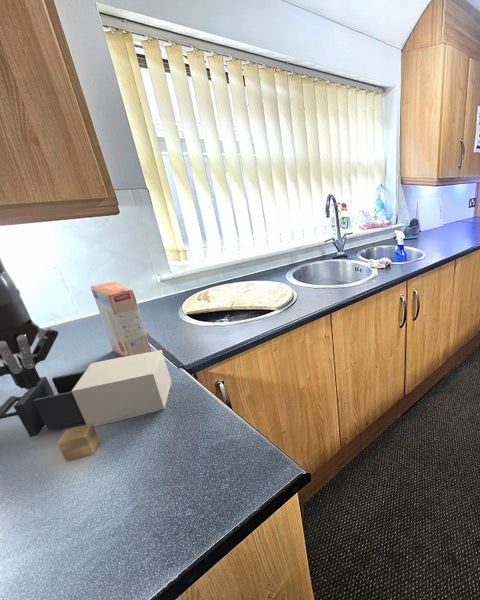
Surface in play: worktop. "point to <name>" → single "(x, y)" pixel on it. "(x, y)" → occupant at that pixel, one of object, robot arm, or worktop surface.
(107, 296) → the cracker box
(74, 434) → the block
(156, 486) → the worktop surface
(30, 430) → the dark grey drawer
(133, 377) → the cream rectangular box
